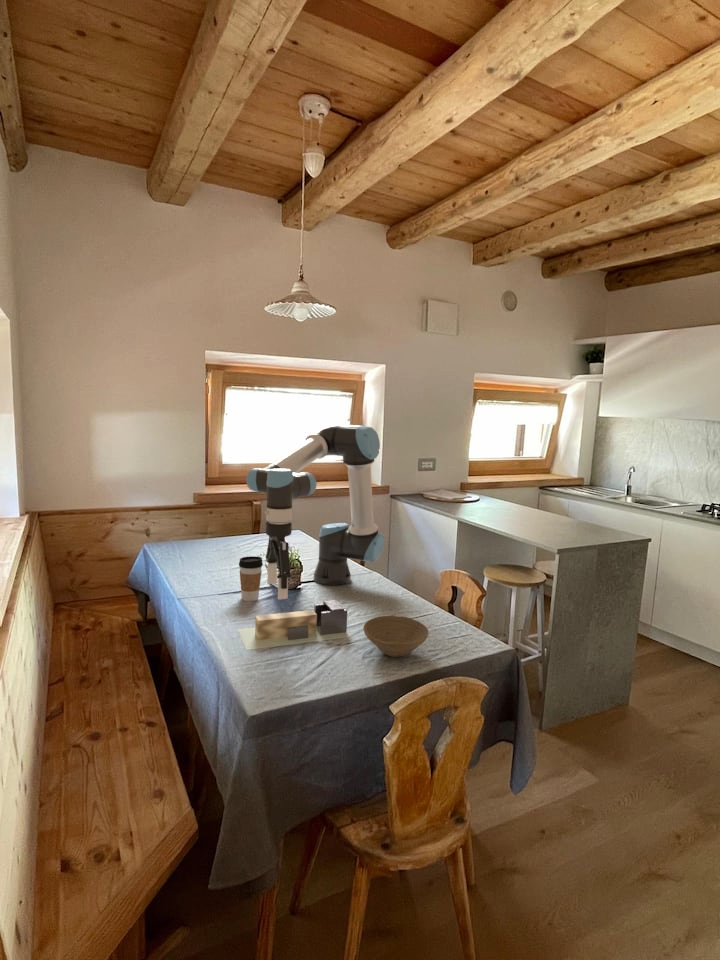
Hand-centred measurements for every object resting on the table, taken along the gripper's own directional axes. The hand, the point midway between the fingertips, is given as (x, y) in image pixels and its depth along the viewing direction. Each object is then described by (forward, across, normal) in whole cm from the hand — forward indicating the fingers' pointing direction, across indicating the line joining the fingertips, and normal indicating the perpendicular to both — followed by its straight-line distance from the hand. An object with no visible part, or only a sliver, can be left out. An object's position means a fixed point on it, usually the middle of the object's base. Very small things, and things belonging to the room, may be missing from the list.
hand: (277, 590), depth 159 cm
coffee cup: (+15, -34, -1) cm, 37 cm away
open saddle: (+14, 0, +6) cm, 15 cm away
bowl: (+14, +21, +30) cm, 39 cm away
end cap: (+14, 0, +17) cm, 22 cm away
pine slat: (+14, 0, +3) cm, 14 cm away
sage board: (+14, 0, +6) cm, 15 cm away
